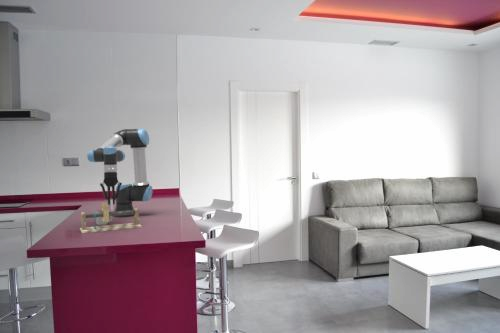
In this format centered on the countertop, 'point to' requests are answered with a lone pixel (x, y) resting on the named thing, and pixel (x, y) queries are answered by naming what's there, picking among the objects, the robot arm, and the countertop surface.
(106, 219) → the collar
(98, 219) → the cup
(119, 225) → the rail
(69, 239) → the countertop surface
